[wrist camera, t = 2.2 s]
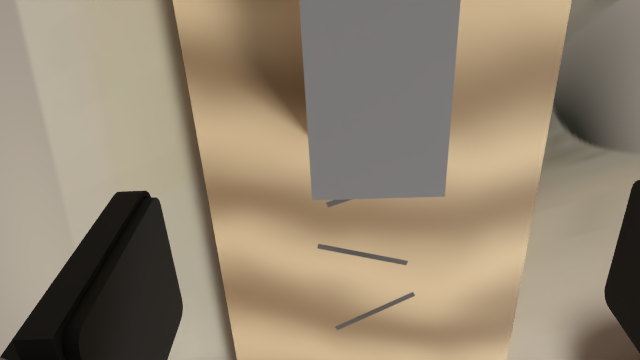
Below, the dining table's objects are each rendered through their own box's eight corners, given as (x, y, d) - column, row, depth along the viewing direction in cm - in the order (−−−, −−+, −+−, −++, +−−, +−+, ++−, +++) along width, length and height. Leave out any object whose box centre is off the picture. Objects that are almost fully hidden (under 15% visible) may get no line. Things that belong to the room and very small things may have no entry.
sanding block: (304, -72, 20) (295, -59, 16) (437, -79, 20) (465, -67, 15) (316, 143, 24) (312, 200, 20) (425, 139, 24) (444, 196, 20)
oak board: (164, -109, 21) (153, -109, 19) (578, -133, 20) (595, -133, 19) (247, 377, 35) (243, 396, 33) (494, 374, 34) (500, 394, 32)
